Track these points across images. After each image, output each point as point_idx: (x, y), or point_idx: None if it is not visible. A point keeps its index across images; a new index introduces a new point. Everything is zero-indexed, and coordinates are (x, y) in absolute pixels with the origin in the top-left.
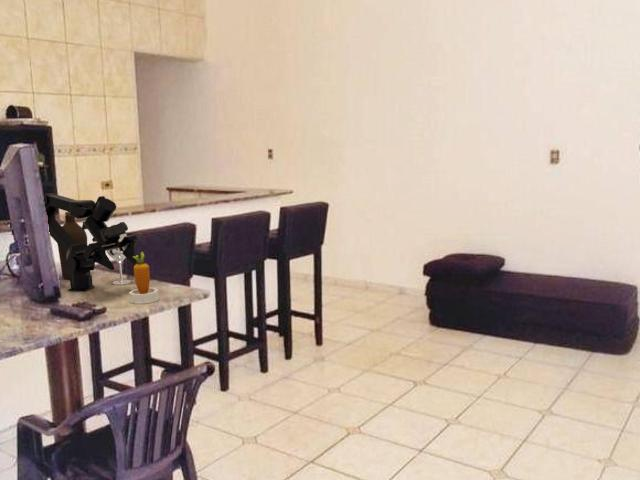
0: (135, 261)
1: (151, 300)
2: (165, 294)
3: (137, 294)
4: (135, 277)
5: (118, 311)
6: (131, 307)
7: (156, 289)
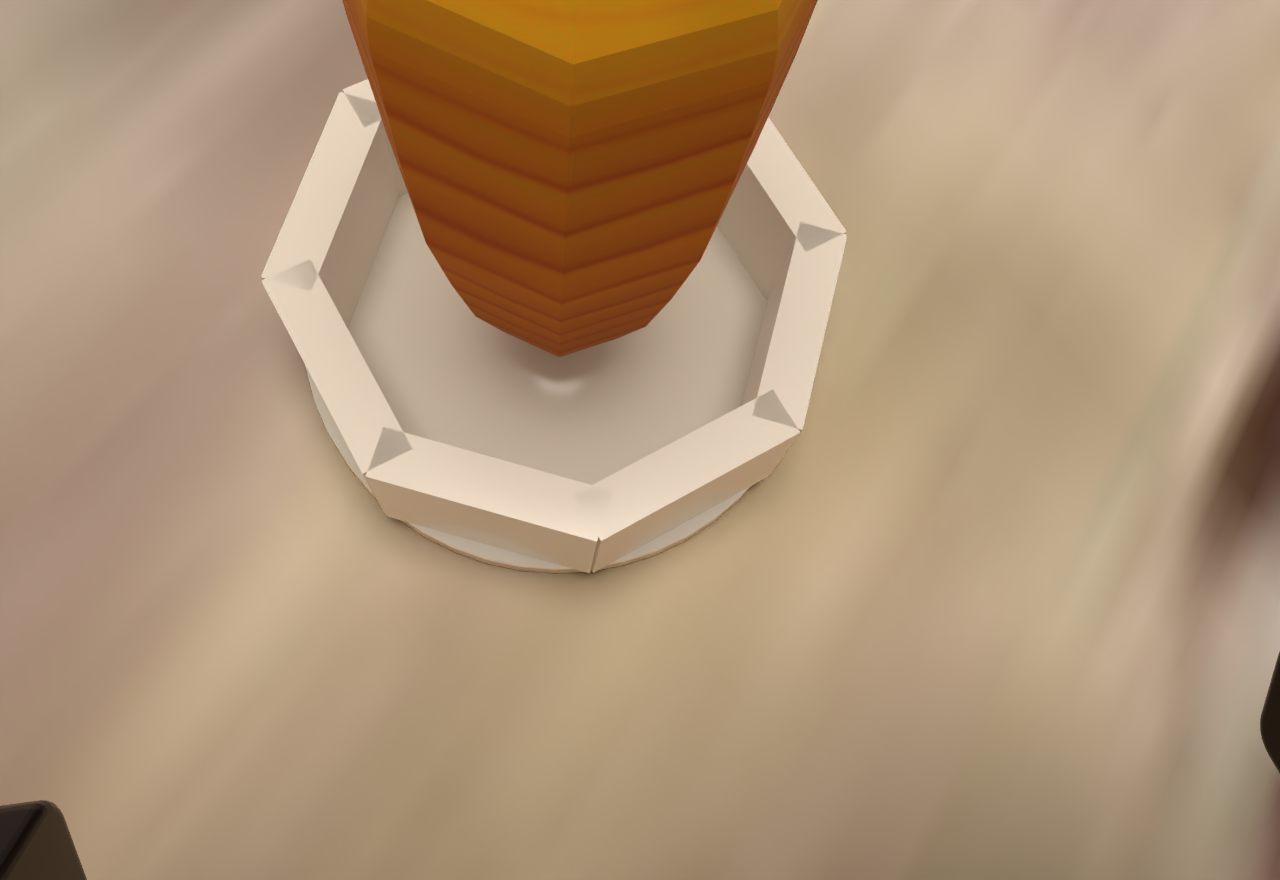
0: (11, 836)
1: None
2: (86, 324)
3: (785, 166)
4: (772, 104)
5: (1161, 170)
6: (932, 176)
7: (337, 148)
